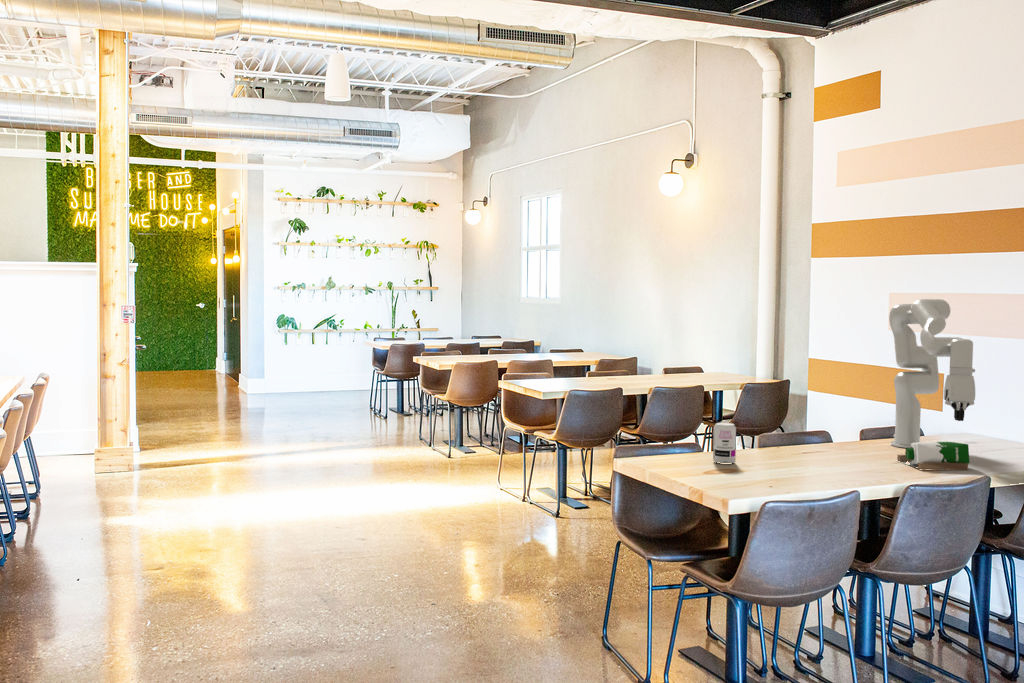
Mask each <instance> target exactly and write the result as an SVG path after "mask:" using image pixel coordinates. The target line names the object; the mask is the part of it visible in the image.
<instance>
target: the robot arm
mask: <svg viewBox="0 0 1024 683" xmlns="http://www.w3.org/2000/svg"><path fill="white" fill-rule="evenodd" d="M888 316H889V317H888V320H889V326H890V329H891V331H892V334H893V340H894V353H895V361H896V365H897V367H899V368H900V369H921V371H918V370H915V371H909V370H908V371H901V372H898V373H897V374H896V375H895V376H894V379H893V385H894V391H895V420H894V422H895V424H894V425H895V427H894V428H895V429H894V434H893V435H892V436H893V438H894V440H892V441H890V445H891V446H893V447H897V448H906V449H907V448H911V443H918V442H921V437H920V435H921V413H922V412H921V403H920V401H919V399H918V397H917V396H916V395H932V394H936V393H937V392H938V391H939V388H940V374H939V364H938V358H943V357H945V358H947V357H948V358H949V374H947V375H946V378H945V382H944V388H943V389H944V390H943V400H944V404H945V405H946V406H950V407H951V408H952V409H953V411H954V412H953V413H954V414H953V417H954V421H957V422H963V421H964V419H965V411H966V410H967V408H968V407H969V406H973V405H975V400H976V383H975V376H974V375H973V373H976V369H975V368H973V360H974V359H973V358H974V357H973V356H974V342H973V340H971V339H969V338H968V339H967V338H963V337H959V336H958V337H954V336H953V337H951V336H949V337H948V336H947V337H946V336H942V337H941V336H938V337H937V335H939V334H940V333H941V332H943V331H944V329H945V328H946V325H947V322H946V320H947V319H948V318H949V317H950V316H951V307H950V304H949V302H948V301H946V300H944V299H940V298H939V299H935V298H931V299H929V298H922V299H918V300H916V301H913V303H901V304H896V305H894V306H892V307H891V309H890V312H889V315H888ZM909 325H919V326H920V327H921V332H920V335H919V338H920V339H919V341H920V344H921V345H918V344H917V335H916V333H915V332H914V330H913V329H912V328H911V327H910V326H909ZM935 336H936V337H935Z"/></svg>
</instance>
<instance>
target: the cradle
mask: <svg viewBox="0 0 1024 683" xmlns="http://www.w3.org/2000/svg"><path fill="white" fill-rule="evenodd" d="M896 458H897V460H898V461H900V462H899V463H901V462H903V463H906V462H907V461H908V462H909V463H910V465H911V466H913V467H915V468H916V467H918V469H944V470H943V471H968V469H969V463H947V462H934V463H918V465H917V464H912V460H911V459H907V458H906V454H897V457H896ZM898 461H897V462H898ZM903 463H902V464H903ZM911 466H910V467H911ZM913 467H912V468H913ZM915 468H914V469H915ZM918 469H917V470H918ZM947 469H948V470H947Z"/></svg>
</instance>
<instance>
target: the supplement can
mask: <svg viewBox="0 0 1024 683" xmlns="http://www.w3.org/2000/svg"><path fill="white" fill-rule="evenodd" d="M736 438H737V427H736V426H735V424H734V423H733V422H716V423H715V425H714V426H713V446H712V448H713V452H712V458H713V459H712V460H713V462H714V461H715V462H720V463H736V457H737V456H736V453H737V450H736V448H737V446H736V445H737V444H736V443H737V439H736ZM715 462H714V463H715Z"/></svg>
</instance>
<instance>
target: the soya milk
mask: <svg viewBox="0 0 1024 683" xmlns="http://www.w3.org/2000/svg"><path fill="white" fill-rule="evenodd" d="M969 452H970V451H969V444H967V443H962V442H955V441H954V442H953V441H920V442H918V443H911V448H906V449H905V453H904V455H906V458H907V459H911V460H912V464H917V465H918V463H934V462H947V463H968V464H970V453H969Z"/></svg>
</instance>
